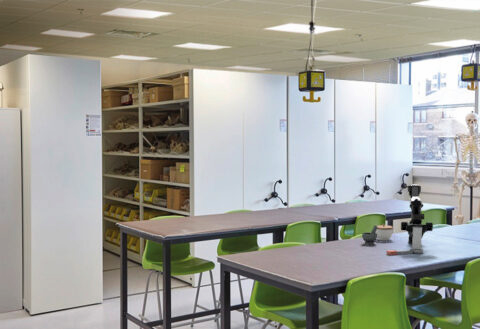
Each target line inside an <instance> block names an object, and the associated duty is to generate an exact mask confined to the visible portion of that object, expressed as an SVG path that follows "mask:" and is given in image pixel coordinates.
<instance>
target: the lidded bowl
mask: <svg viewBox="0 0 480 329" xmlns="http://www.w3.org/2000/svg"><path fill="white" fill-rule="evenodd" d="M376 226H377V227H378V228H377V230H376V232H375V233H377V239H378V241H384V242H385V241H389V240H390V239H391V238H392V237H393V233H394V232H393V231H394V227H393V225H386V224H385V223H382V224H381V225H379V224H378V225H376Z"/></svg>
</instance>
